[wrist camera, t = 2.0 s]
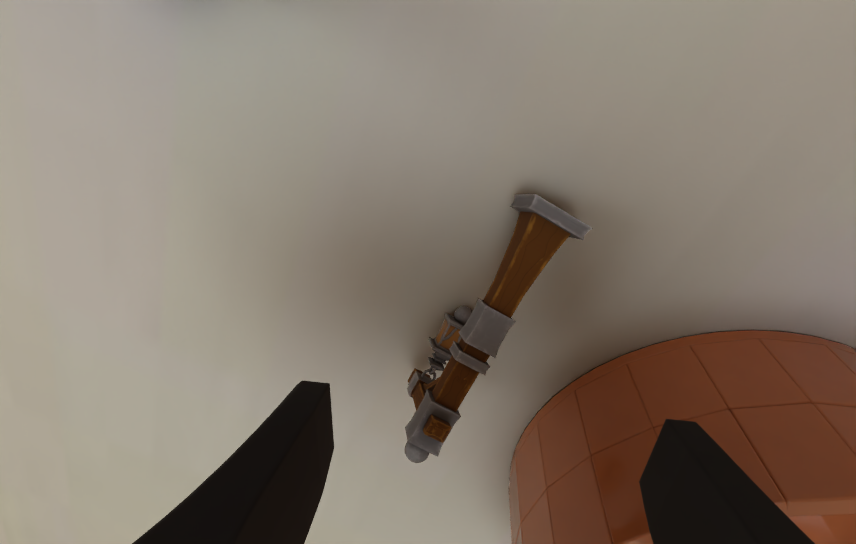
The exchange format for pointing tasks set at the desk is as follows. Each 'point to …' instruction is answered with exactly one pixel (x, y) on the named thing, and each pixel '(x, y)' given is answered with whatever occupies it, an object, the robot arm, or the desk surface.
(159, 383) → the desk surface
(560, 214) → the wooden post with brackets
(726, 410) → the orange brown bowl
